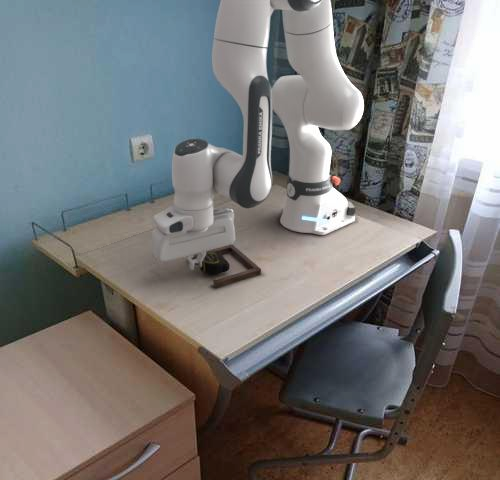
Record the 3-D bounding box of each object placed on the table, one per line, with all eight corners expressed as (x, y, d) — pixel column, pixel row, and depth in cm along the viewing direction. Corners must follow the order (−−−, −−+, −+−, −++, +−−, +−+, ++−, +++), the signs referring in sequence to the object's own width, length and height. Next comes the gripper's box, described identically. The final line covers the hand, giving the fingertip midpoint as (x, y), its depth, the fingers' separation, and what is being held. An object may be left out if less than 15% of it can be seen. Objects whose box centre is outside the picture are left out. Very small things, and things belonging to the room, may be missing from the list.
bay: (232, 249, 137) (232, 244, 136) (261, 274, 127) (261, 268, 126) (189, 261, 131) (188, 255, 130) (215, 288, 121) (215, 282, 120)
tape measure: (230, 274, 126) (230, 261, 124) (204, 280, 124) (204, 267, 122) (220, 261, 131) (220, 248, 129) (195, 266, 129) (194, 253, 127)
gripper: (227, 200, 123) (226, 251, 131) (146, 218, 114) (151, 271, 122) (240, 210, 119) (239, 262, 127) (157, 229, 110) (162, 284, 118)
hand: (195, 267), depth 124 cm, fingers closed
